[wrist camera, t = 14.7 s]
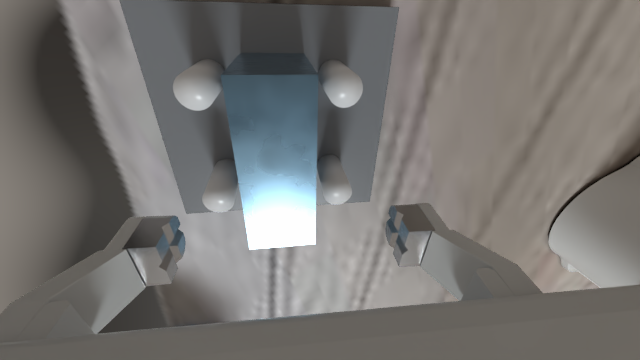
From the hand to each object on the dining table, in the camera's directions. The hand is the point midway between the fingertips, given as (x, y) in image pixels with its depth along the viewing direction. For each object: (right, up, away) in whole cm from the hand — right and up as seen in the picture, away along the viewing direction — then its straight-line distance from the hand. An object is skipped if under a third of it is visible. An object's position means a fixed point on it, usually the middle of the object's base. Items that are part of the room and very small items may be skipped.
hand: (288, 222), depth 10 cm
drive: (-2, +6, +9) cm, 11 cm away
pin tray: (-2, +6, +10) cm, 12 cm away
